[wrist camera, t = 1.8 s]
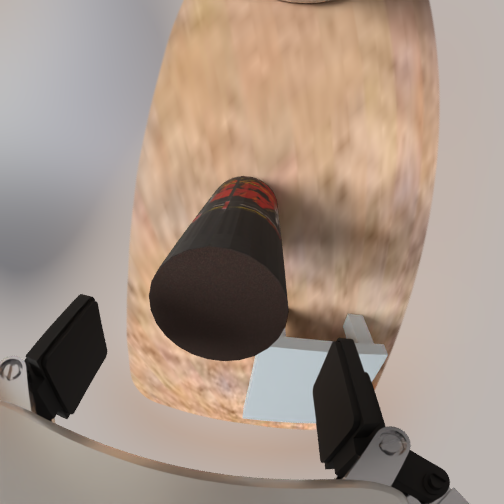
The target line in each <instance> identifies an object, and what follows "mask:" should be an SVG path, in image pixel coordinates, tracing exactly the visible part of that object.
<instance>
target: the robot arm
mask: <svg viewBox="0 0 504 504" xmlns="http://www.w3.org/2000/svg"><path fill="white" fill-rule="evenodd" d="M282 1H288V2H296V3H320V2H325V1H331V0H282ZM106 355H107V347H106V343H105V338H104V333H103V329H102V324H101V319H100V314H99V309H98V303H97V302H96V301H95V299H94V298H93V297H90V296H87V295H83V294H80V295H79V296H78V297H77V298H76V299H75V300H74V301H73V302H72V303H71V304H70V306H69V307H67V309H66V310H65V311H64V312H63V313H62V314H61V315H60V316H59V317H58V318H57V320H56V321H55V322H54V323H53V324H52V325H51V326H50V327H49V329H48V330H47V331H46V332H45V333H44V334H43V336H42V337H41V338H40V339H39V341H37V343H36V344H35V345H34V346H33V348H32V349H31V350H30V351H29V352H28V354H27V355H26V359H25V361H24V360H23V359H21V358H20V357H18V356H9V357H6V358H4V359H3V360H1V362H0V504H469V503H468V502H467V501H466V500H465V499H464V498H463V496H462V495H461V494H460V493H459V492H458V491H457V490H456V489H455V488H452V489H450V488H449V485H450V481H449V477H448V475H447V473H446V472H445V471H444V470H443V469H441V468H440V467H438V466H436V465H435V464H433V463H431V462H429V461H428V460H426V459H424V458H422V457H421V456H419V455H417V454H416V453H414V452H412V451H411V450H410V440H409V437H408V436H407V434H406V433H405V432H404V431H402V430H401V429H399V428H396V427H385V423H384V420H383V417H382V413H381V411H380V407H379V404H378V401H377V397H376V394H375V391H374V388H373V385H372V382H371V379H370V376H369V374H368V373H367V372H364V369H363V366H362V363H361V360H360V357H359V354H358V351H357V348H356V345H355V342H354V340H353V339H347V338H338V339H337V341H333V342H332V344H331V346H330V349H329V351H328V353H327V356H326V358H325V361H324V363H323V365H322V368H321V370H320V372H319V374H318V377H317V379H316V381H315V383H314V386H313V401H314V409H315V417H316V425H317V434H318V442H319V452H320V460H321V462H322V463H325V469H335V474H336V475H337V476H336V477H335V478H334V479H328V480H325V479H324V480H323V479H322V480H321V479H320V480H289V479H264V478H252V477H241V476H232V475H224V474H218V473H211V472H205V471H199V470H194V469H189V468H184V467H178V466H175V465H170V464H166V463H162V462H158V461H154V460H151V459H147V458H144V457H140V456H137V455H134V454H130V453H127V452H124V451H121V450H118V449H115V448H113V447H110V446H107V445H104V444H102V443H99V442H96V441H94V440H91V439H89V438H87V437H84V436H82V435H79V434H77V433H75V432H72V431H70V430H68V429H66V428H63V427H62V426H59V425H57V424H56V423H55V419H54V418H55V416H56V414H57V415H59V416H61V417H63V418H65V419H68V417H69V415H70V414H73V413H74V412H75V410H76V408H77V407H78V405H79V403H80V401H81V399H82V398H83V396H84V394H85V392H86V390H87V389H88V387H89V385H90V383H91V382H92V380H93V378H94V376H95V375H96V373H97V371H98V370H99V368H100V366H101V364H102V363H103V361H104V359H105V358H106Z"/></svg>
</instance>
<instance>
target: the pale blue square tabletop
mask: <svg viewBox="0 0 504 504" xmlns="http://www.w3.org/2000/svg"><path fill="white" fill-rule="evenodd" d="M343 328H344V332H345V335H346V338H347V339H353V340H354V342H355V345H356V348H357V351H358V354H359V357H360V360H361V363H362V366H363V369H364V372H367V373H368V374H369V376H370V379H371V382H372V381H373V379H374V378H375V376H376V374H377V373H378V371H379V370H380V368H381V366H382V364H383V363H384V361H385V359H386V358H387V356H388V353H387V351H386V349H385V346H384V344H374V342H373V340H372V337H371V335H370V332H369V330H368V327H367V325H366V322H365V320H364V318H363V315H357V314H348V315H347V317H346V320H345V322H344V325H343ZM332 342H333V341H324V340H313V339H303V338H293V337H286V332H285V328H284V330H283V332H282V333H281V335H280V337H279V338H278V340H276V341H275V342H274V343H273V344H272V345H271V346H270V347H269V348H268V349H266V350H264V351H263V352H261V353H259V354H257V355H256V356H255V360H254V365H253V369H252V373H251V378H250V382H249V387H248V391H247V395H246V400H245V404H244V408H243V418H245V419H254V420H264V421H277V422H293V423H316V417H315V409H314V401H313V386H314V383H315V381H316V379H317V377H318V374H319V372H320V370H321V368H322V365H323V363H324V361H325V358H326V356H327V353H328V351H329V349H330V346H331V344H332Z"/></svg>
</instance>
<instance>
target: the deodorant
mask: <svg viewBox="0 0 504 504" xmlns="http://www.w3.org/2000/svg"><path fill="white" fill-rule="evenodd" d="M149 300H150V307H151V312H152V314H153V316H154V319H155V321H156V323H157V325H158V326H159V327H160V329H161V330H162V331H163V333H164V334H165V335H166V336H167V337H168V338H169V339H170V340H171V341H172V342H174V343H175V344H176V345H177V346H179V347H180V348H182V349H184V350H186V351H188V352H189V353H191V354H194V355H197V356H200V357H203V358H206V359H211V360H219V361H232V360H241V359H245V358H249V357H252V356H255V355H257V354H259V353H261V352H263V351H264V350H266V349H268V348H269V347H270V346H271V345H272V344H273V343H274V342H275V341H276V340H278V338H279V337H280V335H281V333H282V332H283V330H284V328H285V326H286V322H287V317H288V312H289V311H288V300H287V289H286V279H285V269H284V259H283V250H282V241H281V232H280V223H279V214H278V206H277V200H276V198H275V195H274V193H273V192H272V190H271V189H270V188H269V187H268V186H267V185H266V184H265V183H263V182H262V181H260V180H258V179H255V178H253V177H245V176H241V177H235V178H232V179H230V180H228V181H226V182H224V183H223V184H222V185H221V186H220V187H219V188H218V189H217V190H216V192H215V193H214V194H213V195H212V197H211V198H210V199H209V201H208V202H207V203H206V204H205V206H204V207H203V208H202V210H201V211H200V212H199V214H198V215H197V216H196V218H195V219H194V220H193V222H192V223H191V224H190V226H189V227H188V228H187V230H186V231H185V232H184V234H183V235H182V237H181V238H180V239H179V241H178V242H177V243H176V245H175V246H174V248H173V249H172V250H171V252H170V253H169V255H168V256H167V257H166V259H165V260H164V262H163V263H162V265H161V266H160V267H159V269H158V271H157V273H156V274H155V276H154V278H153V280H152V282H151V287H150V293H149Z"/></svg>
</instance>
